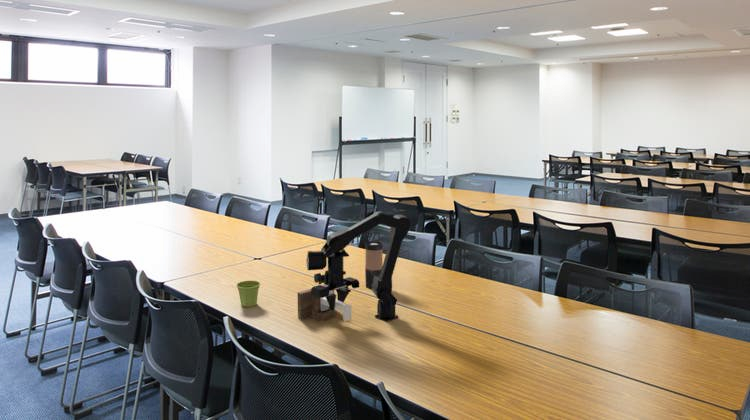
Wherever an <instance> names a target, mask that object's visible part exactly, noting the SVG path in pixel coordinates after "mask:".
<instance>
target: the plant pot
mask: <svg viewBox="0 0 750 420" xmlns="http://www.w3.org/2000/svg"><path fill="white" fill-rule="evenodd" d="M235 286H236V288H237V290H238V293H239V294H238V296H239V300H240V305H241V306H242V307H246V308H251V307H255V306H256V305H257V304H258V297H259V289H260V286H261V282H260V281H258V280H242V281H240V282H237V283H236V285H235Z"/></svg>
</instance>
